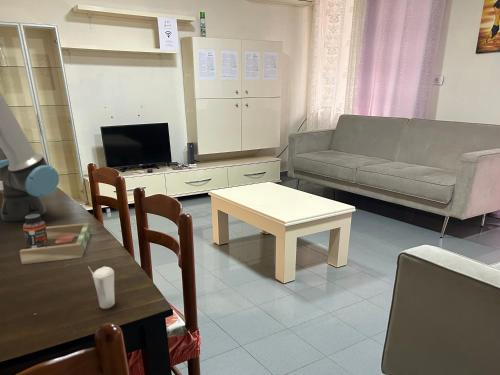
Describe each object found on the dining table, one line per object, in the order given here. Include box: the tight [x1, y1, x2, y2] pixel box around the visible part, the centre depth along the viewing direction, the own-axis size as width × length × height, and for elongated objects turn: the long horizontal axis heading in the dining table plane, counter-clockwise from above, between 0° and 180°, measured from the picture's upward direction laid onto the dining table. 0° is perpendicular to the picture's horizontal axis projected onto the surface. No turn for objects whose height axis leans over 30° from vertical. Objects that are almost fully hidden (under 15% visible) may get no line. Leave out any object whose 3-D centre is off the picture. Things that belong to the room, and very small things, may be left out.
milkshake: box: [87, 266, 116, 310], centre depth 83 cm, size 5×5×10 cm
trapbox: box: [19, 222, 91, 265], centre depth 115 cm, size 19×16×4 cm
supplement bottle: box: [22, 214, 49, 249], centre depth 112 cm, size 6×6×11 cm
